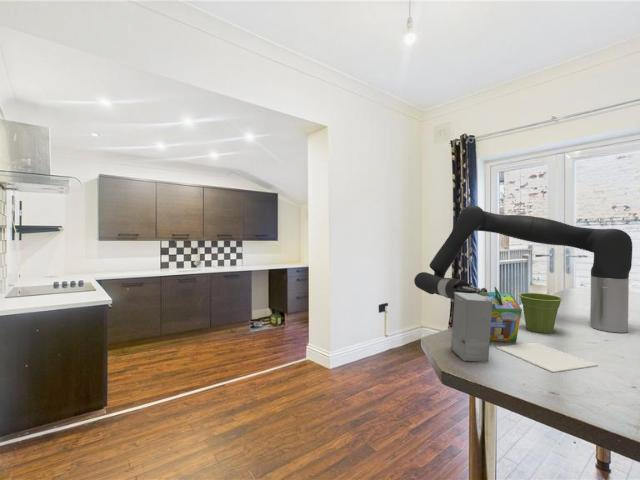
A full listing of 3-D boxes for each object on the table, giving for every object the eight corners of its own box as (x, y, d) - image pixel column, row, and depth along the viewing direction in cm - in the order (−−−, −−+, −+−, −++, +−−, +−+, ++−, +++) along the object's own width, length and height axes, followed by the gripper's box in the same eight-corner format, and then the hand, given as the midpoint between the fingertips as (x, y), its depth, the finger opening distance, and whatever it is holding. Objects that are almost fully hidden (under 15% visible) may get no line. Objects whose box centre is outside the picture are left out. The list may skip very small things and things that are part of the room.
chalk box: (516, 343, 90) (525, 300, 84) (482, 340, 92) (489, 298, 86) (505, 322, 99) (513, 282, 93) (474, 321, 100) (479, 281, 95)
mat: (496, 348, 86) (496, 347, 86) (535, 343, 90) (535, 342, 90) (552, 372, 71) (552, 371, 71) (597, 366, 74) (597, 364, 74)
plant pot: (517, 331, 101) (518, 297, 100) (518, 323, 110) (518, 291, 110) (564, 338, 94) (564, 301, 94) (560, 328, 104) (561, 295, 104)
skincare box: (450, 349, 85) (450, 292, 85) (476, 349, 85) (477, 292, 85) (463, 362, 77) (464, 298, 76) (493, 362, 77) (493, 298, 76)
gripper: (437, 278, 112) (472, 285, 95) (468, 278, 115) (507, 284, 98) (437, 299, 112) (472, 310, 95) (468, 298, 115) (507, 308, 98)
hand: (490, 296), depth 96 cm, fingers closed
